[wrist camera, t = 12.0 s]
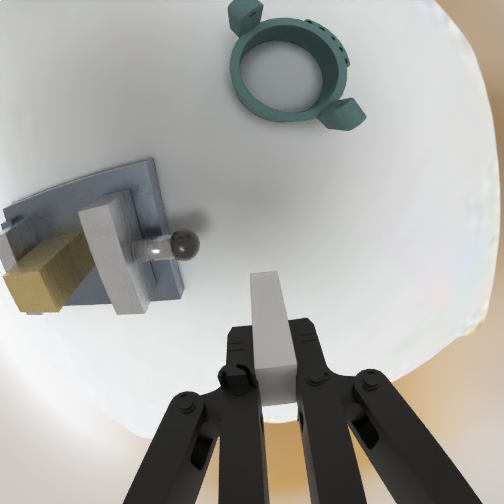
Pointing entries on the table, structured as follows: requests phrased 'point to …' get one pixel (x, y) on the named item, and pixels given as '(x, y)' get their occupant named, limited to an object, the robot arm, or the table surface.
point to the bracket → (310, 38)
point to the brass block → (50, 273)
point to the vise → (68, 221)
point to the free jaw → (129, 250)
